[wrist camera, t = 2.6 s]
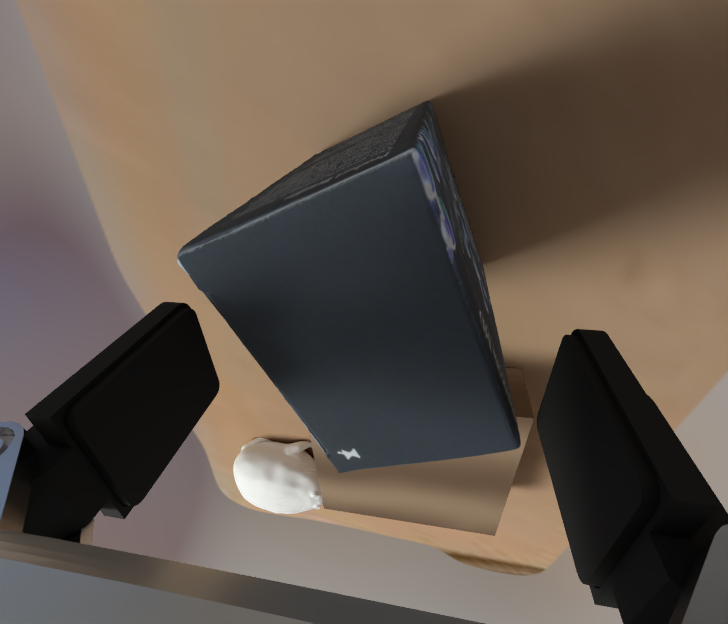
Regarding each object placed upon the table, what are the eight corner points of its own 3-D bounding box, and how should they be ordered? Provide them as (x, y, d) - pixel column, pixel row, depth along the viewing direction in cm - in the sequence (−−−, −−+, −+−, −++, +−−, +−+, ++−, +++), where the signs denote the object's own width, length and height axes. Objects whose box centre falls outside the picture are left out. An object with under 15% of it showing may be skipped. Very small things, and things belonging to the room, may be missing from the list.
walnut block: (321, 347, 23) (301, 393, 20) (519, 363, 21) (534, 418, 18) (336, 459, 30) (324, 508, 27) (488, 480, 28) (494, 535, 25)
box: (485, 264, 18) (527, 457, 9) (379, 296, 20) (331, 477, 11) (432, 93, 14) (417, 142, 5) (309, 154, 16) (160, 258, 8)
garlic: (333, 440, 28) (319, 486, 25) (340, 488, 32) (329, 533, 29) (238, 428, 29) (214, 470, 26) (255, 475, 33) (236, 517, 30)
